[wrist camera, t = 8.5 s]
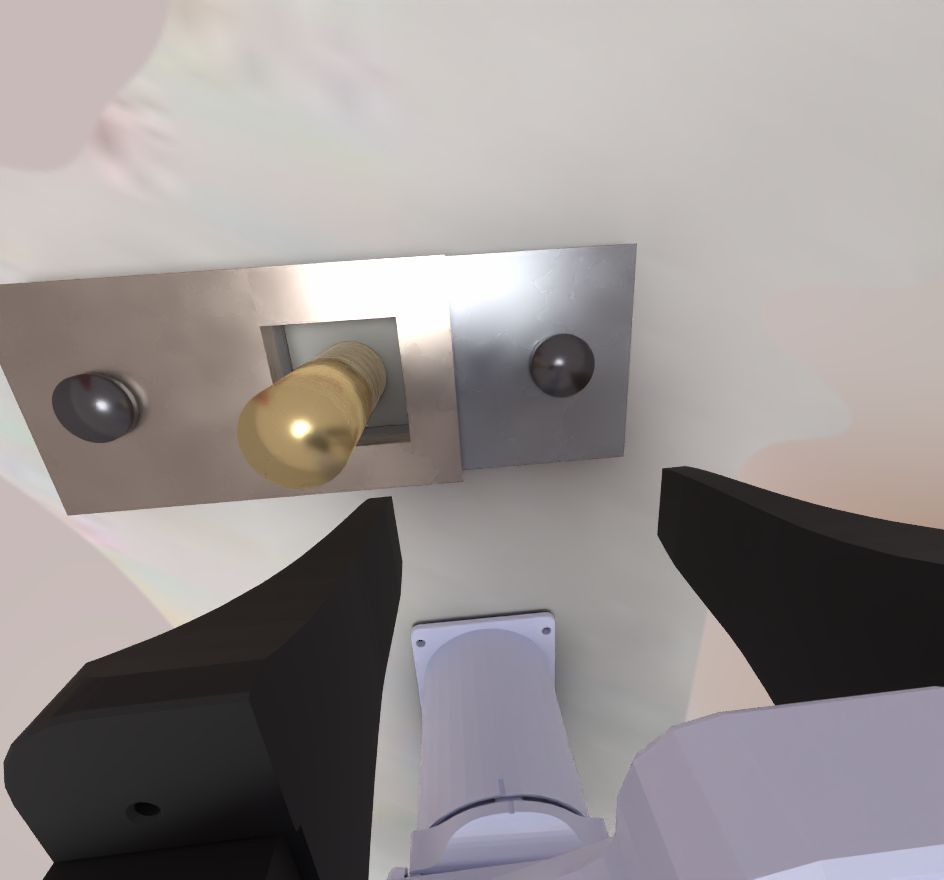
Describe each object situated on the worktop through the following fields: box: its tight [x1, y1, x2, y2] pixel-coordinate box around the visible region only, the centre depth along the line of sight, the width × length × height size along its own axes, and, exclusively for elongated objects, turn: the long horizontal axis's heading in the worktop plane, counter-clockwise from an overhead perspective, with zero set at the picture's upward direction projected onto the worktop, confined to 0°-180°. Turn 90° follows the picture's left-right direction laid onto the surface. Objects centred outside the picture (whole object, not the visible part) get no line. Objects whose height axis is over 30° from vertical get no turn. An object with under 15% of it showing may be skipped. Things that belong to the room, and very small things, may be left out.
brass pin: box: [237, 342, 386, 489], centre depth 16 cm, size 3×3×8 cm
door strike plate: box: [0, 244, 637, 515], centre depth 18 cm, size 24×9×3 cm, turn 94°
